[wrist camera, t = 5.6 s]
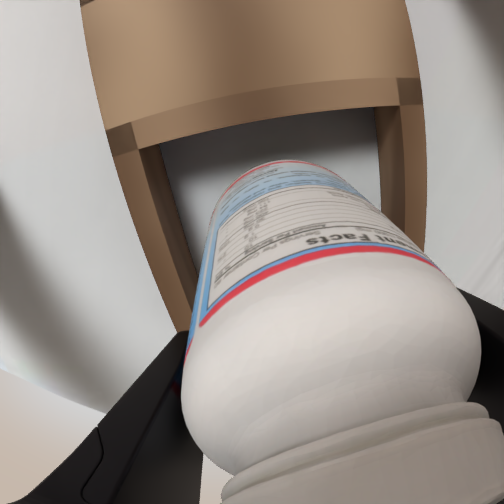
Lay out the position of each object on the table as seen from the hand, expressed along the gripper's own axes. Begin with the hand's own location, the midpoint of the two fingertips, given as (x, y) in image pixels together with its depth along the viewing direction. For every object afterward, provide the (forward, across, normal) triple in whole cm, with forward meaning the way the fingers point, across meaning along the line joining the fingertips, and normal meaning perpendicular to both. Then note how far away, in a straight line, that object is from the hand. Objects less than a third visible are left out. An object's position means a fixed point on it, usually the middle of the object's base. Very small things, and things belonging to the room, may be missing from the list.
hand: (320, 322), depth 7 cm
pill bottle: (+6, 0, 0) cm, 6 cm away
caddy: (+7, 0, -8) cm, 11 cm away
